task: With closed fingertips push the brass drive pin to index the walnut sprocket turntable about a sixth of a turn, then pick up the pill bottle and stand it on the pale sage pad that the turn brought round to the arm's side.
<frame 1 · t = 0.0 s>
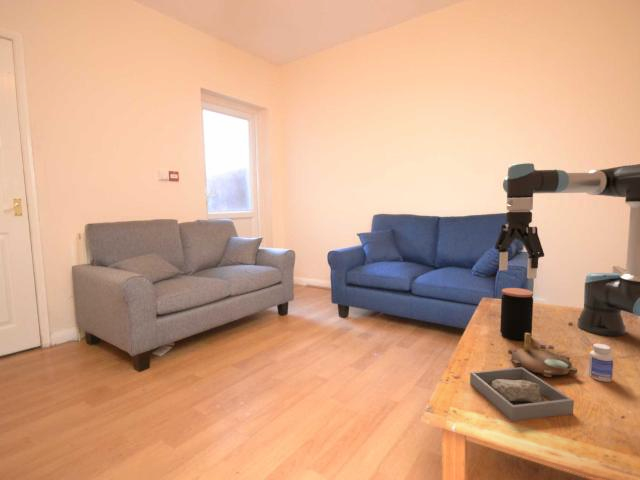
hand: (516, 274, 116), 28 cm above the table, fingers open, 13 cm apart
stone tray: (517, 397, 92), on the table
pedestal: (540, 367, 109), on the table
coffee jar: (515, 336, 134), on the table
pill bottle: (600, 378, 102), on the table
turntable: (541, 351, 108), point 5 cm above the table, hinge at 0.0°
decorative stone: (517, 399, 92), resting in stone tray
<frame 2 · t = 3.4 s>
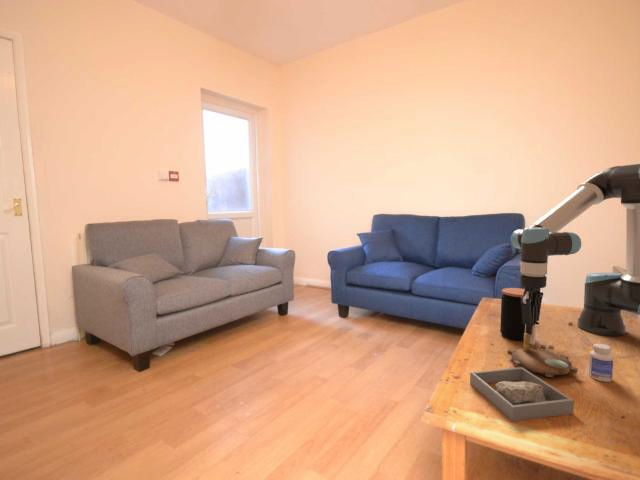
hand: (529, 342, 116), 5 cm above the table, fingers closed
turntable: (541, 351, 108), point 5 cm above the table, hinge at 2.9°, touching gripper
decorative stone: (521, 400, 92), resting in stone tray
everything else where it was.
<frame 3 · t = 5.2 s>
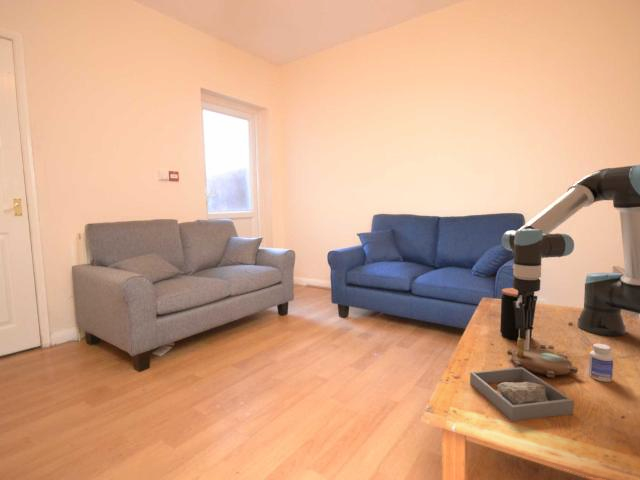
hand: (523, 348, 112), 5 cm above the table, fingers closed
turntable: (541, 351, 108), point 5 cm above the table, hinge at 65.1°, touching gripper
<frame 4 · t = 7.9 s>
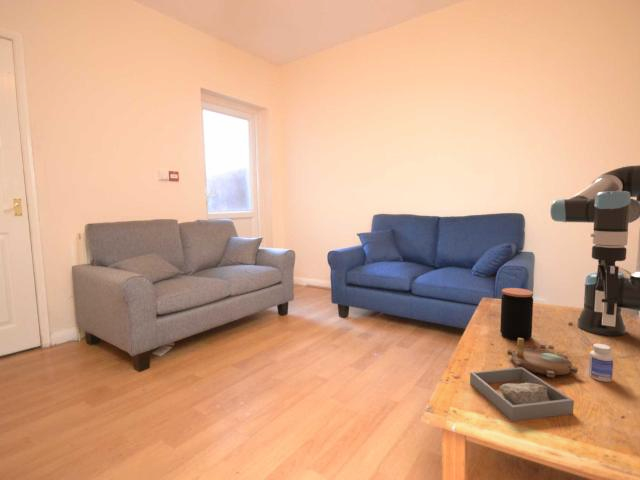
hand: (604, 318, 100), 18 cm above the table, fingers open, 13 cm apart
turntable: (541, 351, 108), point 5 cm above the table, hinge at 65.1°
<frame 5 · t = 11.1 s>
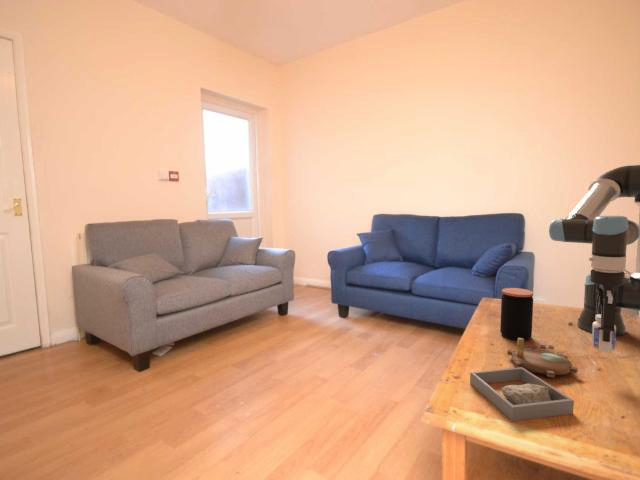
hand: (602, 346, 101), 9 cm above the table, fingers closed on pill bottle, 5 cm apart
pill bottle: (602, 348, 101), point 9 cm above the table, touching gripper
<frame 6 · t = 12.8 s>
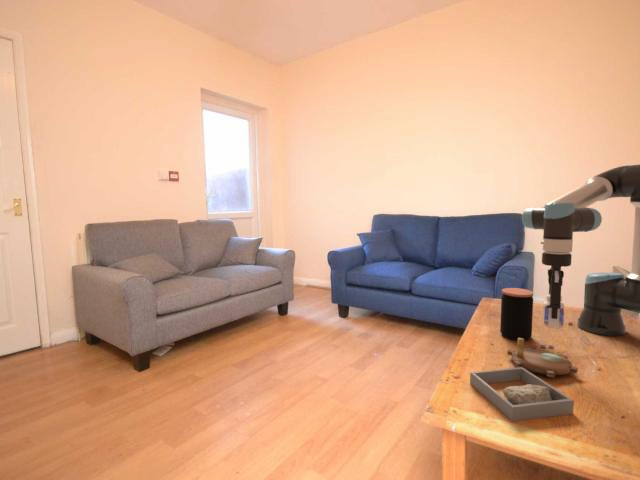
hand: (552, 324, 108), 13 cm above the table, fingers closed on pill bottle, 5 cm apart
pill bottle: (552, 326, 109), point 13 cm above the table, touching gripper
when the fingers open (4 cm above the table, at t = 14.7 s): pill bottle stays where it is, resting on turntable.
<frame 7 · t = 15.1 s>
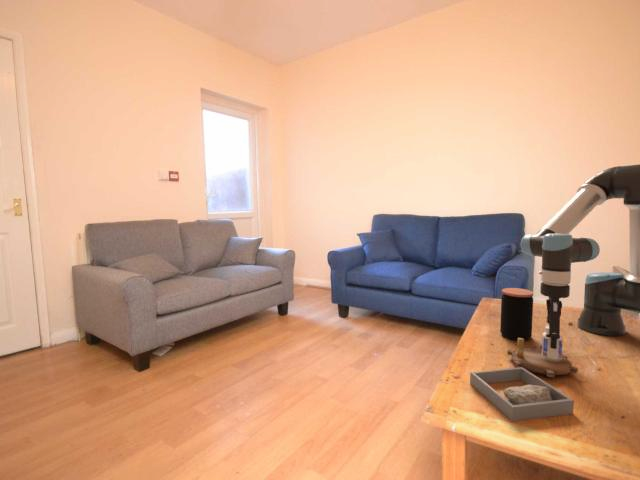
hand: (551, 350, 109), 5 cm above the table, fingers open, 11 cm apart
pill bottle: (551, 357, 110), point 3 cm above the table, touching turntable
turntable: (541, 351, 108), point 5 cm above the table, hinge at 64.9°, touching pill bottle
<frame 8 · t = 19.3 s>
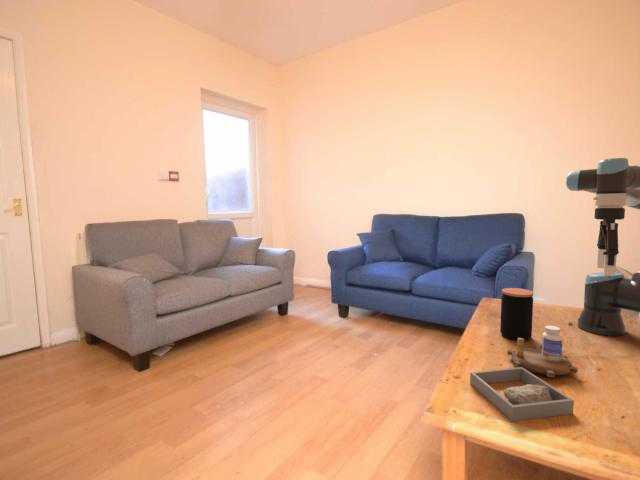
hand: (605, 271, 114), 29 cm above the table, fingers open, 13 cm apart
at the end: turntable at +65° (first picture: +0°); pill bottle inside the target area (0.1 cm from its centre), point 2.5 cm above the table; pill bottle tilted 0° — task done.
